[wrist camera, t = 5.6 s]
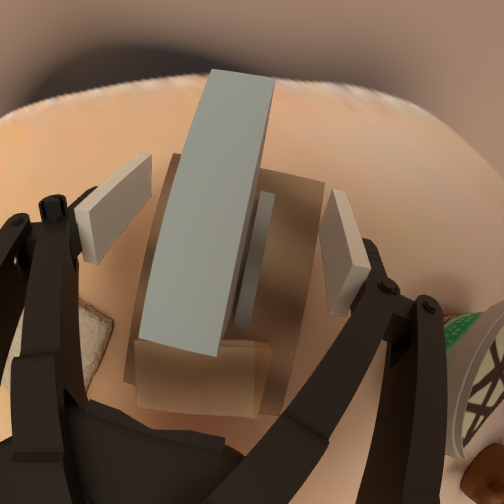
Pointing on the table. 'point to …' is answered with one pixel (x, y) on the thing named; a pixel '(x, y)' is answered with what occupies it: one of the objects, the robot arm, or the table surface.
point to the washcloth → (91, 340)
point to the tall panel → (208, 216)
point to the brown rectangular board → (259, 273)
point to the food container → (472, 373)
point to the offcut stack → (202, 378)
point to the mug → (486, 477)
